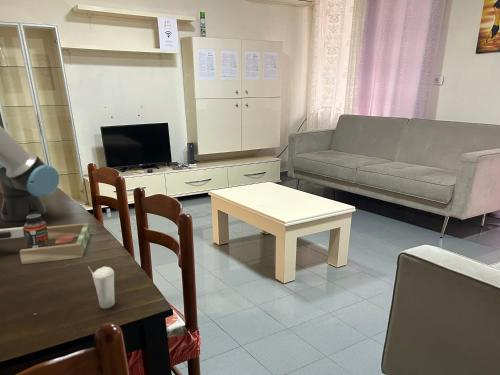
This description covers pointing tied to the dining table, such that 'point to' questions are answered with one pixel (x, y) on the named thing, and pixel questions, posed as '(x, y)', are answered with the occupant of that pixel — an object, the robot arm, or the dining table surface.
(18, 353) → the dining table surface
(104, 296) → the milkshake
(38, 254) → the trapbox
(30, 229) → the supplement bottle
